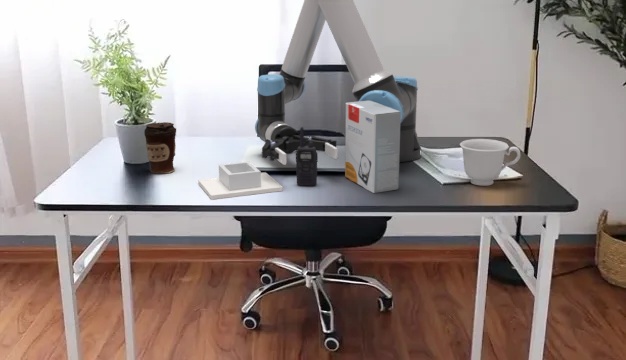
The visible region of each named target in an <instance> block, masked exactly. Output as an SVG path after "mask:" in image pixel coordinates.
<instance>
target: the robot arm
mask: <svg viewBox="0 0 626 360" xmlns="http://www.w3.org/2000/svg"><path fill="white" fill-rule="evenodd" d="M325 23H326V24H327V26H328V28H329V30H330V32H331V35H333V40H334V41H335V43H336V45H337V47H338V50H339V52H340V54H341V57H342V58H343V61H344V63H345V65H346V67H347V69H348V70H347V71H348V72H349V74H350V76H351V78H352V81H353V83H354V84H353V89H352V91H351V92H352V95H353V97H354V99H355V102H358V101H368V100H370V101H373V102H376V103H379V104H381V105H384V106H387V107H390V108H392V109H395V110H398V111H400V112H401V120H400V154H399V163H402V162H403V163H404V162H412V161H416V160H418V159H421V157H422V154H421V155H420V150H421V151H422V148H421V145H420V140H419V137H418V133H417V130H416V129H417V127H416V124H417V106H418V105H417V101H418V88H419V87H418V81H417V79H416V78H415V77H412V76H397V75H395V76H394V74H393V73H392V72H390V71H387V70H385V68H384V66H383V64H382V61H381V60H380V58H379V55H378V53H377V51H376V49H375V47H374V44H373V41H372V40H371V38H370V34H369V32H368V31H367V29H366V26H365V24H364V21H363V20H362V17H361V15H360V13H359V10H358V8H357V6H356V4H355V1H354V0H304V1H303V4H302V6H301V9H300V12H299V15H298V19H297V20H296V24H295V28H294V30H293V32H292V33H293V34H292V36H291V38H290V42H289V44H288V47H287V50H286V53H285V57H284V60H283V63H282V66H281V69H280V71H279V74H275V73H273V74H272V73H270V74H262V75H260V76H258V78H257V88H256V90H257V105H258V106H257V107H258V115H257V116H258V119H257V120H256V122H255V125H254V130H255V134H256V135H257V136H258V138H259V139H260V140H261V141H262V142H264V145H263V146H262V148H261V157H262V159H266V158H267V159H268V157H269V161H271V162H273V161H275V160H277V161H278V162H279V163H281V164H282V165H285V166H286V165H287V155H289V154H292V153H295V152H297V148H298V147H299V146H300V133H299V132H298V130H296V129H295V128H294V127H292V126H291V125H289V124H287V123H286V105H287V104H288V103H291V102H293V101H296V100H297V99H299V98H300V97H301V96H302V95H303V94H304V93H305V89H306V82H305V79H306V76H307V73H308V71H309V68H310V66H311V63H312V60H313V57H314V54H315V51H316V48H317V45H318V44H319V40H320V38H321V34H322V32H323V29H324V26H325ZM310 141H311V142H313V147H315V148H316V151H317V152H324V154H326V155H327V156H329V157H331V158H332V159H334V160H337V159H338V153H339V151H338V147H337V141H336V140H333V139H329V138H324V137H323V138H322V137H318V136H315V135H309V136H308V137H307V136H304V146H306V145H309V142H310Z"/></svg>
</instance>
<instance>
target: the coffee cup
mask: <svg viewBox="0 0 626 360" xmlns="http://www.w3.org/2000/svg"><path fill="white" fill-rule="evenodd" d="M174 125H175V124H174V123H172V122H168V121H167V122H155V123H148V124H146V127H145V129H144V132H143V133H144V137H145V146H146V153H147V159H148V161H149V168H150V172H151V173H153V174H170V173H173V172H175V169H176V168H175V167H174V159H175V156H176V136H177V134H176V133H177V128H176V127H174Z"/></svg>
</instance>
